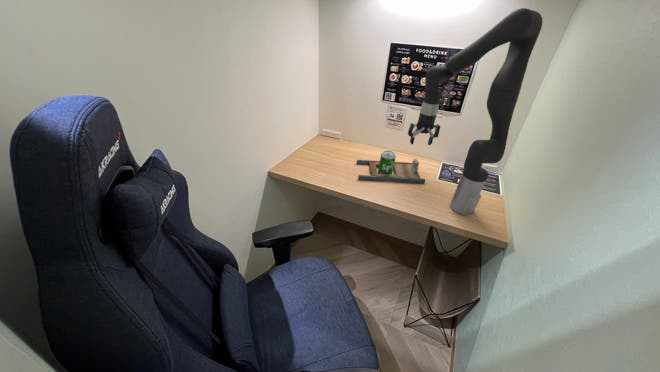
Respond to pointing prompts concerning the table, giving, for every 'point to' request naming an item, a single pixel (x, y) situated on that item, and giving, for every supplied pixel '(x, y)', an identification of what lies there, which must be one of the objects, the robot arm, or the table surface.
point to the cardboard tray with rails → (398, 170)
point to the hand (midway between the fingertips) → (420, 144)
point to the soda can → (387, 162)
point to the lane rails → (387, 179)
